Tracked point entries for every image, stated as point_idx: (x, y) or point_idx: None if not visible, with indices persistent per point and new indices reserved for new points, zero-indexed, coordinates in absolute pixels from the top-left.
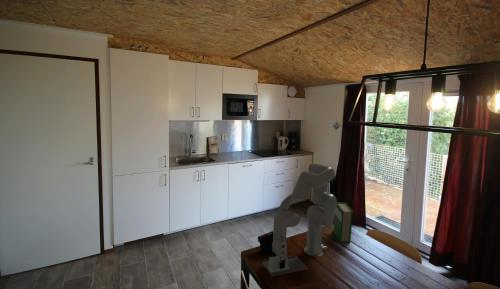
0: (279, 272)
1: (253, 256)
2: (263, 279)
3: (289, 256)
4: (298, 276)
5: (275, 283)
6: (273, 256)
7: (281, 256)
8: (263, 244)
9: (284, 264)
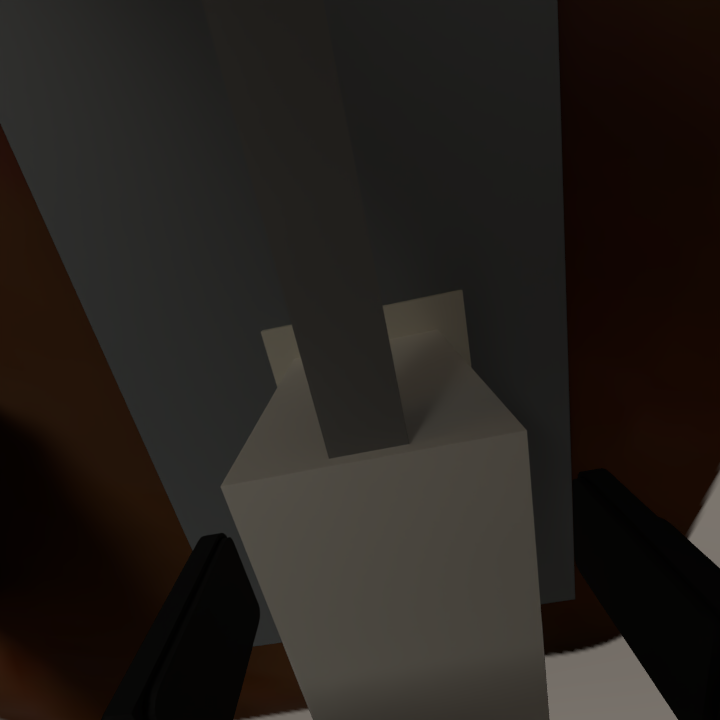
0: None
1: (75, 676)
2: (549, 646)
3: (335, 302)
4: (638, 155)
5: None
6: (237, 681)
7: (340, 604)
8: None
9: (671, 544)
